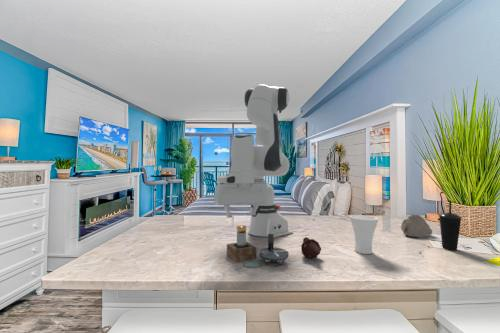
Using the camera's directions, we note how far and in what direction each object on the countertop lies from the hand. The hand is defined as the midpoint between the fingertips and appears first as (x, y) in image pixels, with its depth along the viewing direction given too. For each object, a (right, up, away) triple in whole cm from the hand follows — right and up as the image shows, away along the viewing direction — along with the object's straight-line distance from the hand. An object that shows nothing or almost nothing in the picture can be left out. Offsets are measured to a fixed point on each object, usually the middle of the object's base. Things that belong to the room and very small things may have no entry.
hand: (241, 216), depth 94 cm
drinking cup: (+86, -16, +13) cm, 88 cm away
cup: (+48, -16, +8) cm, 51 cm away
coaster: (+4, -15, -7) cm, 17 cm away
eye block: (0, -15, +1) cm, 15 cm away
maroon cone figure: (+25, -15, +1) cm, 30 cm away
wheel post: (+11, -15, -4) cm, 19 cm away
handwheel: (+11, -13, -4) cm, 18 cm away
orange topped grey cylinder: (0, -15, +1) cm, 15 cm away
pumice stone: (+86, -16, +34) cm, 93 cm away
